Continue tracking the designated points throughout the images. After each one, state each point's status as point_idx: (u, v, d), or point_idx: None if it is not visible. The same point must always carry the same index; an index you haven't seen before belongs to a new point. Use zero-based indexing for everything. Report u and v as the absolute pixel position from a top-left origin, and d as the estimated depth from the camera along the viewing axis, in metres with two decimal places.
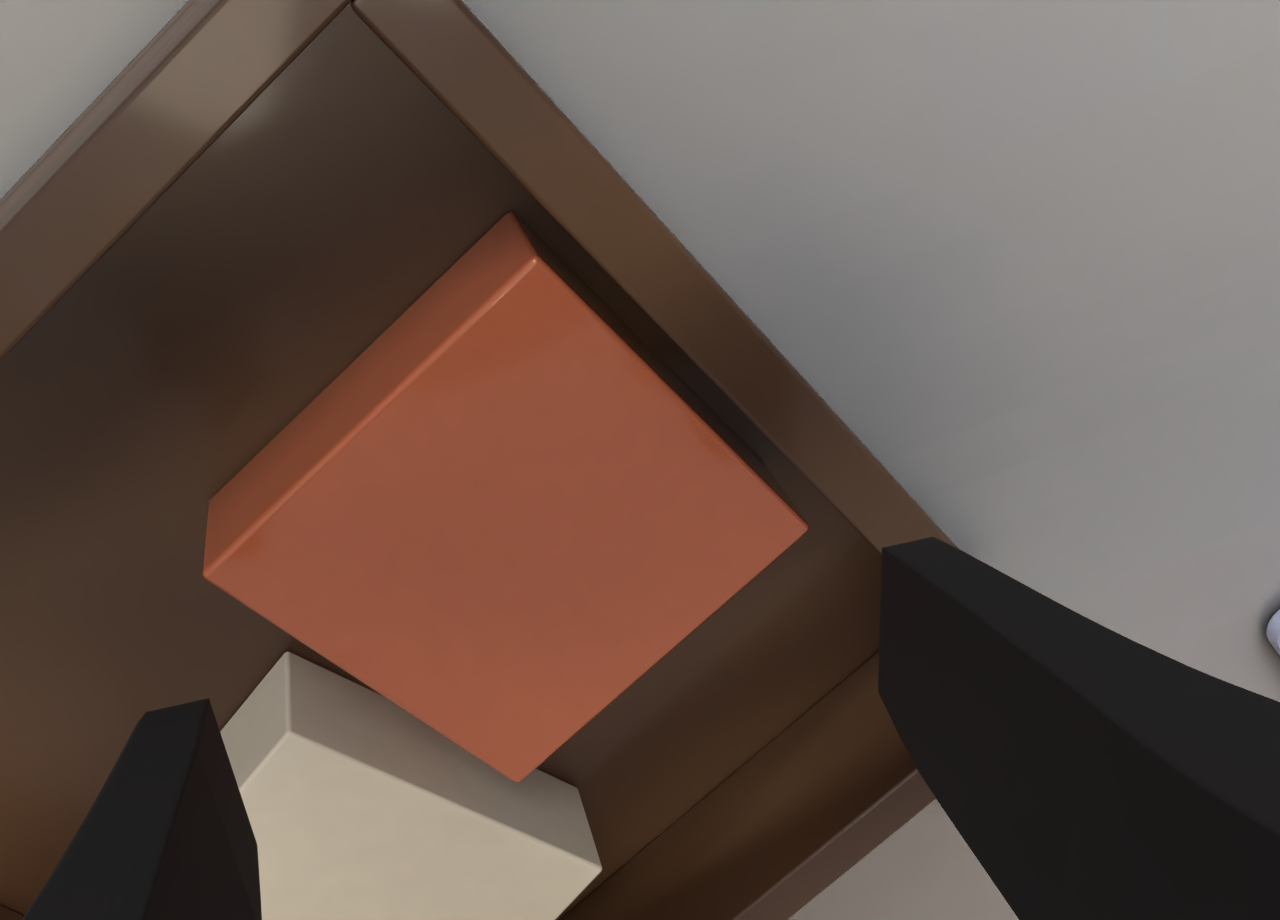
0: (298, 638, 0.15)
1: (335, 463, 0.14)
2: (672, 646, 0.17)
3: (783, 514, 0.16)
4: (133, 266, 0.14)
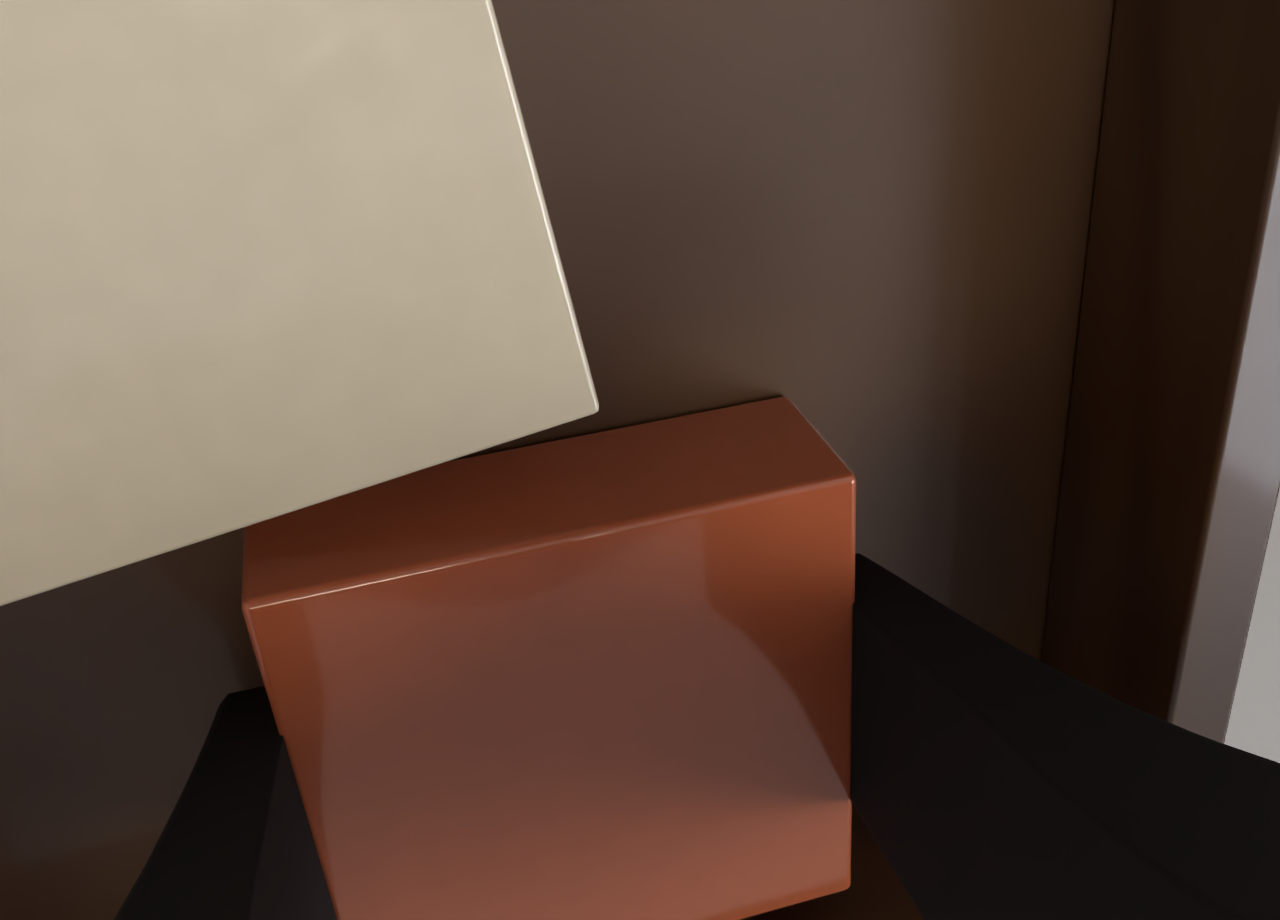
0: (703, 509, 0.11)
1: (843, 662, 0.12)
2: None
3: None
4: (1009, 496, 0.14)
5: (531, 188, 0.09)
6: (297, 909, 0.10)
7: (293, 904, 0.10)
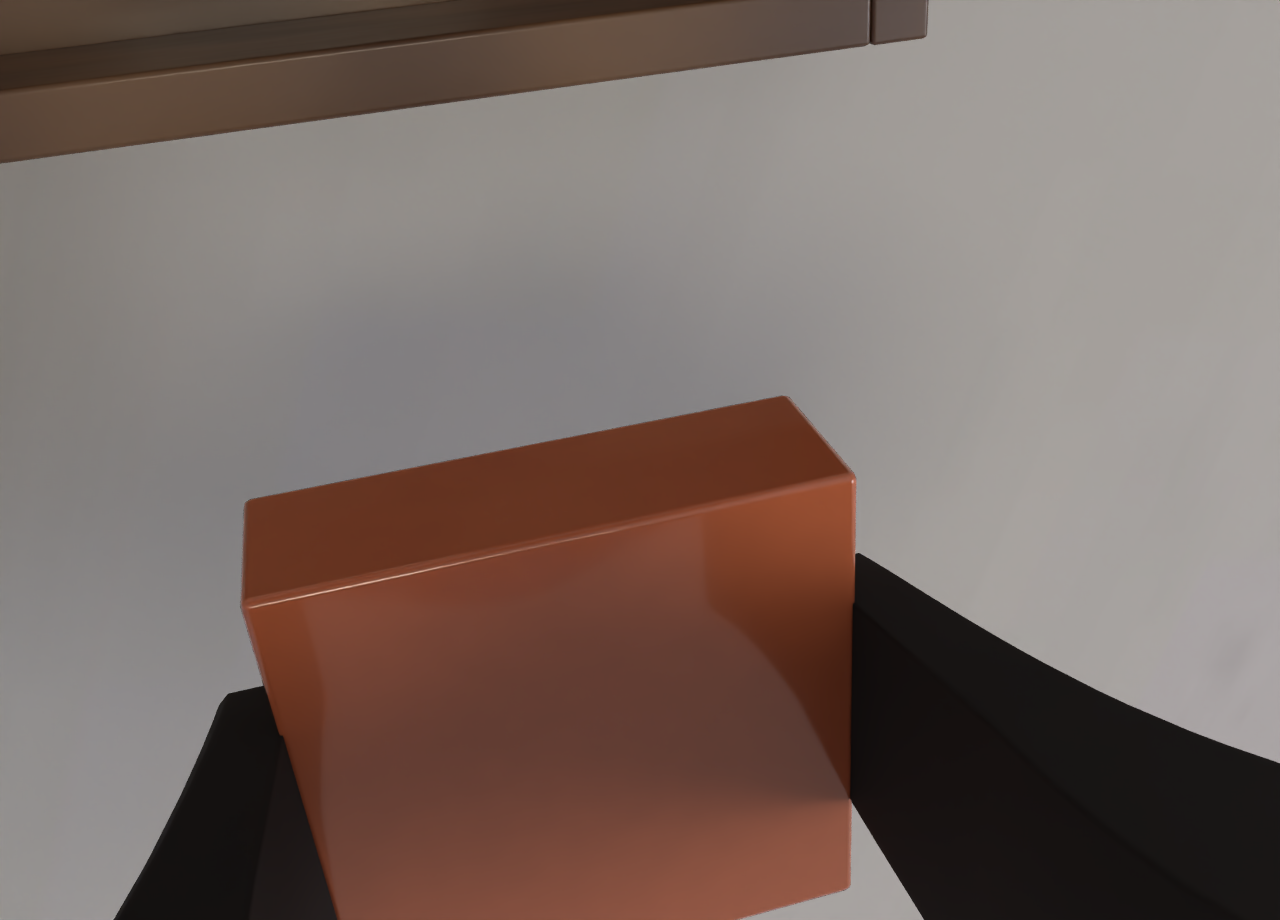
0: (703, 509, 0.11)
1: (843, 661, 0.12)
2: None
3: None
4: None
5: None
6: (297, 909, 0.10)
7: (293, 904, 0.10)
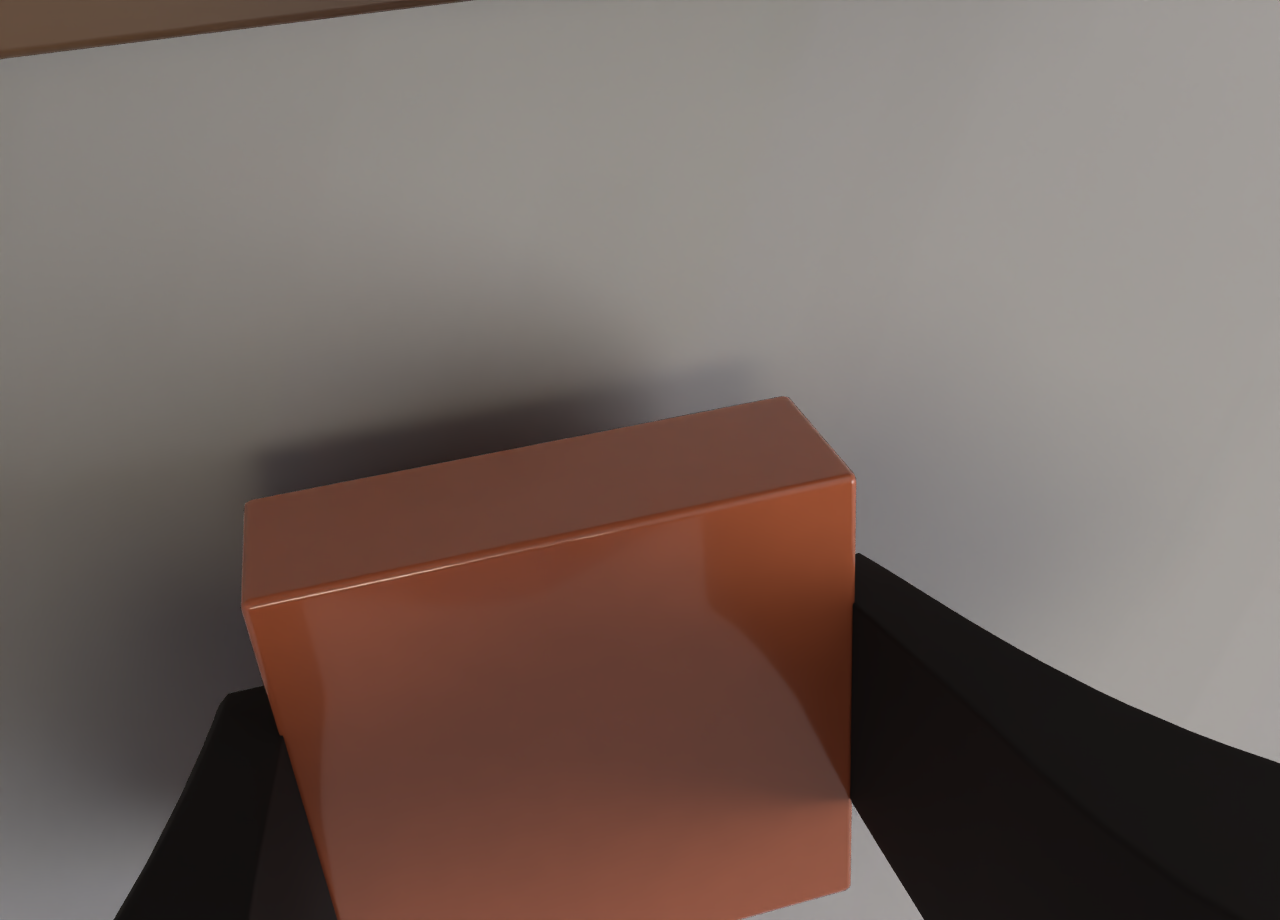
0: (703, 510, 0.11)
1: (843, 662, 0.12)
2: None
3: None
4: None
5: None
6: (297, 909, 0.10)
7: (293, 904, 0.10)
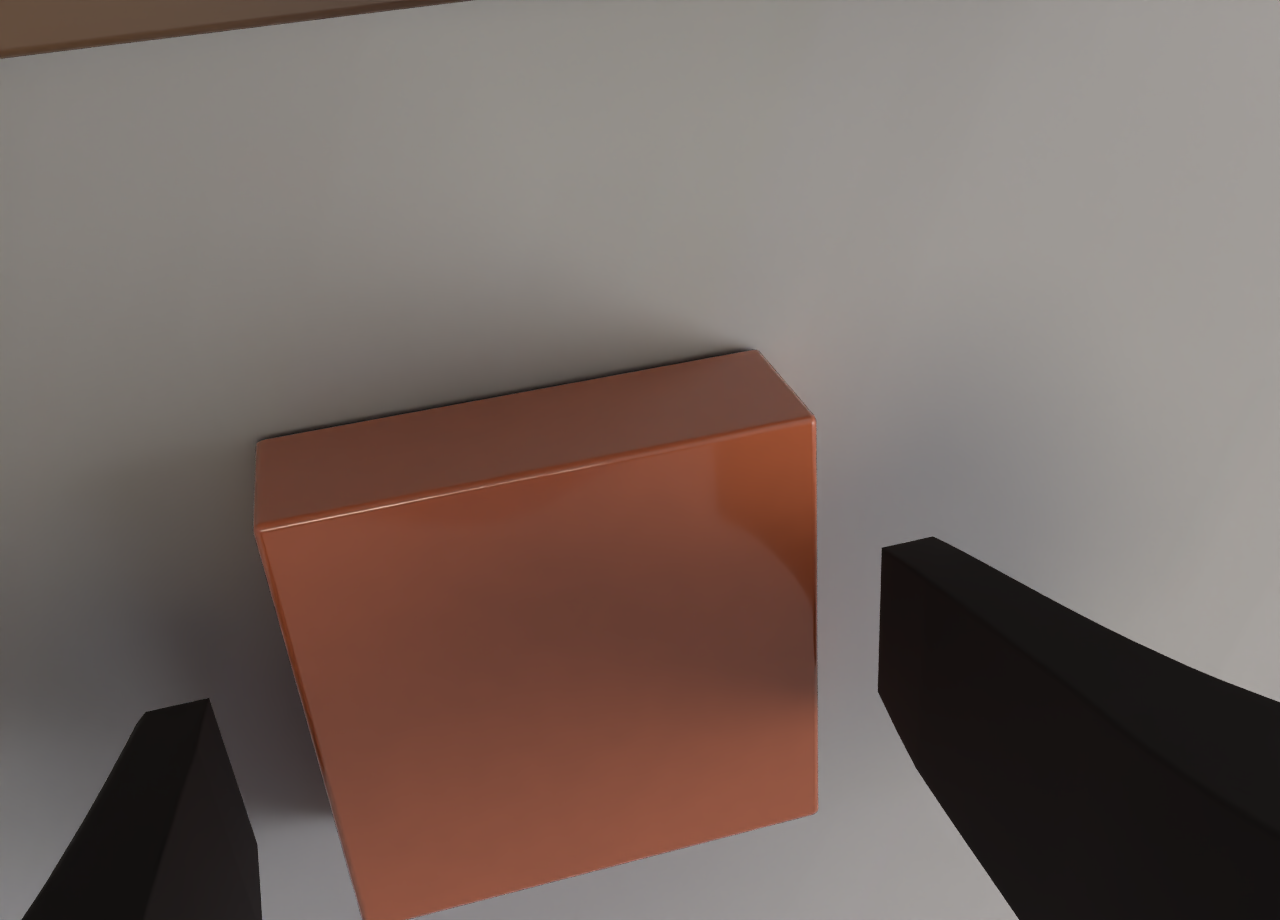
0: (674, 446, 0.12)
1: (807, 595, 0.13)
2: (318, 764, 0.13)
3: (408, 913, 0.14)
4: None
5: None
6: None
7: None
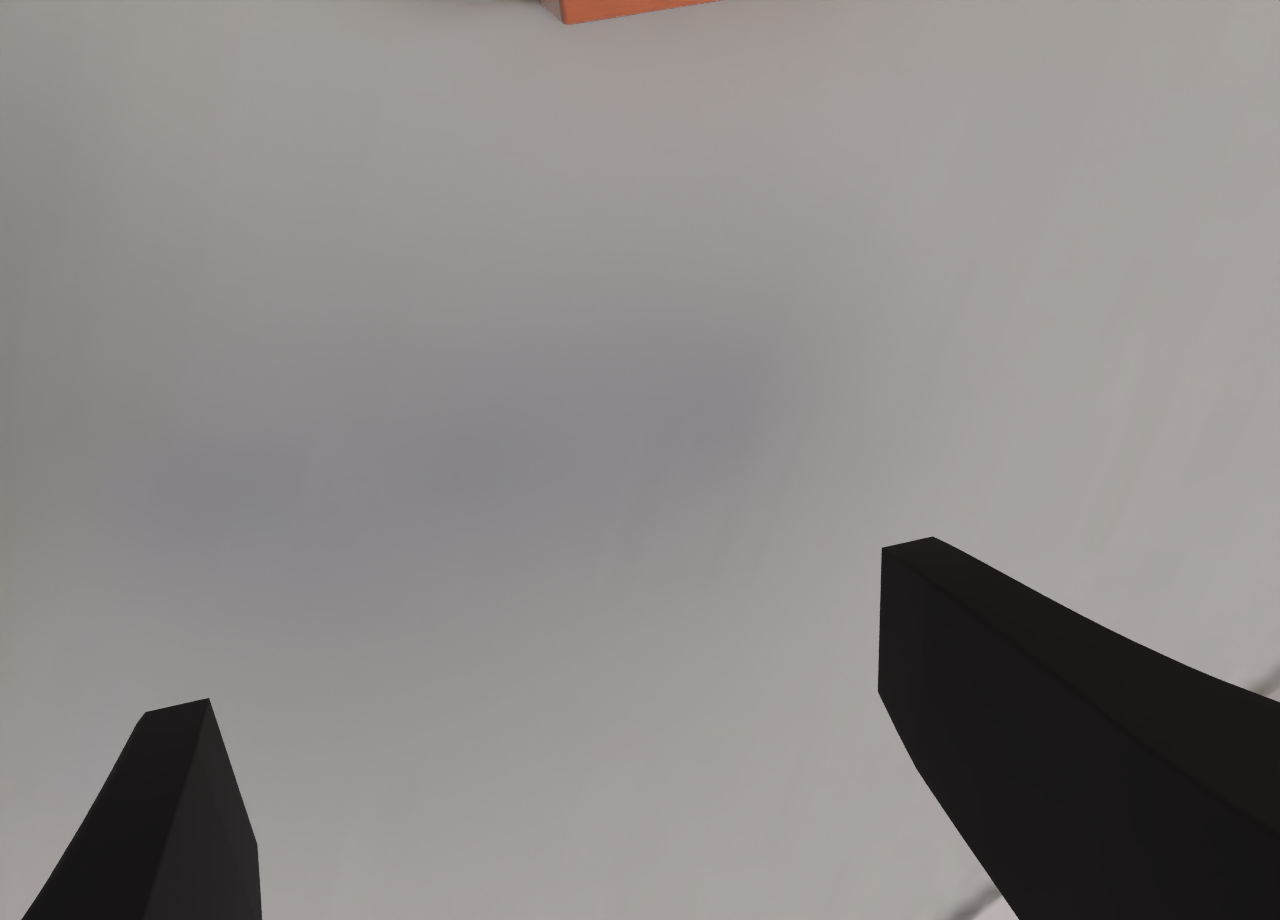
0: None
1: None
2: None
3: (598, 11, 0.17)
4: None
5: None
6: None
7: None
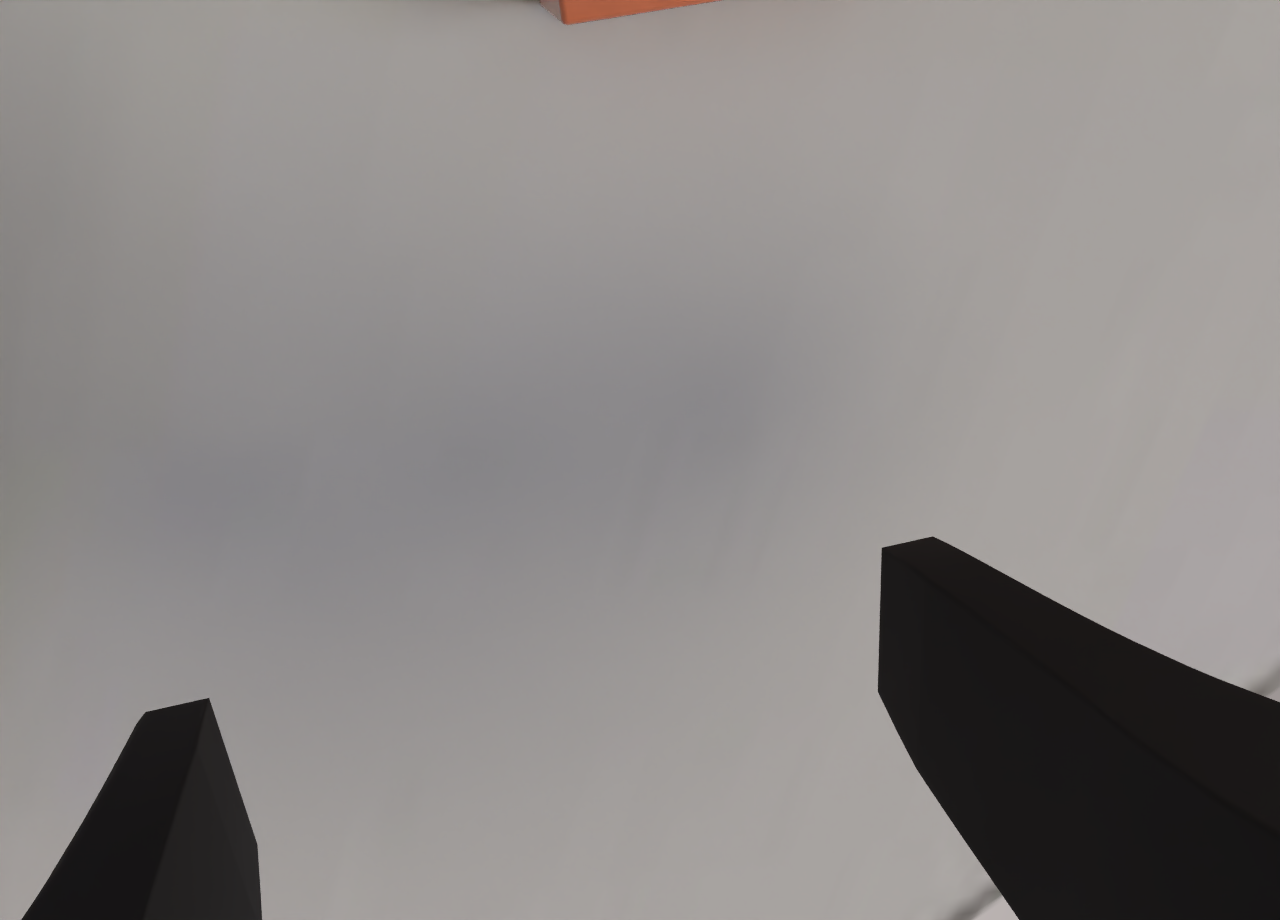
0: None
1: None
2: None
3: (598, 11, 0.17)
4: None
5: None
6: None
7: None
